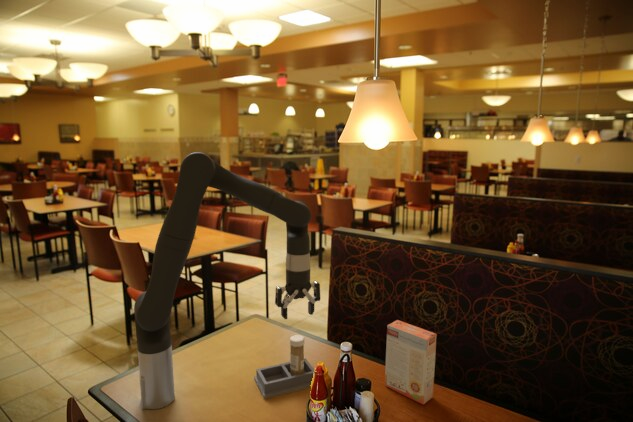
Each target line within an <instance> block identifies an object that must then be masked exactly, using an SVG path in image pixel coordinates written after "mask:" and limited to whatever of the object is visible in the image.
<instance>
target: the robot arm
mask: <svg viewBox="0 0 633 422" xmlns="http://www.w3.org/2000/svg"><path fill="white" fill-rule="evenodd" d="M208 188H211V189H214V190H215V189H216V190H219V191H221V192H223V193H226V194H228V195H230V196H233V198H235V199H238V200H239V201H241V202H243V203H245V204H247V205H249V206H251V207H252V208H256V209H257V210H260V211H262V212H265V213H266V214H269V215H271V216H274V217H276V218H277V219H279V220H281V221H283V223H285V224H286V256H285V285H284V286H279V285H277V286H275V295H274V296H275V298H274V305H276V307H278V308H281V309H280V315H281V317H282V318H283V319H284V320H288V306H289V305H290V304H291V303H292V301H293V300H298V299H305V298H307V300H308V303H307V313H308V314H309V315H310V316H312V315H313V314H314V313H315V304H316V302H320V301H321V284H320V283H319V282H318V280H314V281H313V282H311V254H310V253H311V251H310V250H311V249H310V247H311V246H310V245H311V244H310V243H311V242H310V240H311V239H310V235H309V227H308V226H309V224H310V221H311V219H312V212H311V210H310V208H309V206H307V204H306V203H304V202H303V201H301V200H293V199H291V198H288V197H286V196H284V195H283V194H282V193H280V192H279V191H277V190H275V189H273V188H270V187H269V186H266V185H264V184H263V183H259V182H257V181H254V180H252V179H249V178H246V177H243V176H241V175H239V174H237V173H234V172H232V171H230V170H229V169H226V168H225V167H223V166H221V165H220V164H219V163H217V162H216V161H214V160H213V159H212V158H211V157H210V156H209V155H207V154H206V153H204V152H199V151H198V152H197V151H196V152H192V153H189V154H188V155H185V157H184V158H183V159H182V161H181V163H180V168H179V174H178V179H177V185H176V188H175V193H174V195H173V199H172V201H171V204H170V206H169V208H168V210H167V213H166V215H165V218H164V220H163V222H162V226H161V227H160V230H159V234H158V236H157V239H156V240H157V241H156V244H155V247H154V252H153V258H152V267H151V276H150V280H149V283H148V286H147V288H146V291H143V292H142V293H141V294H140V295H138V297H137V298H136V300H135V302H134V304H133V305H134V306H133V310H134V312H133V313H134V323H135V336H136V345H137V346H136V347H137V348H136V349H137V357H138V358H137V359H138V372H139V387H140V397H141V398H140V400H141V410H158V409H162V408H165V407H167V406H168V405H170V404H171V403H172V402H173V401H174V399H175V395H176V394H175V392H176V391H175V378H174V362H173V361H174V360H173V346H172V344H173V343H172V333H171V326H170V317H171V314H172V309H173V305H174V299H175V296H176V295H175V294H176V291H177V287H178V283H179V280H180V278H181V276H182V273H183V271H184V269H185V264H186V262H187V259H188V256H189V254H190V251H191V248H192V245H193V241H194V239H195V235H196V231H197V227H198V223H199V213H200V208H201V205H202V202H203V199H204V196H205V194H206V191H208ZM311 289H313V296H312V295H311V294H310V292H309V291H310V290H311ZM284 292H286V293H284ZM284 294H285V295H284ZM283 295H284V297H283ZM282 298H283V299H282Z"/></svg>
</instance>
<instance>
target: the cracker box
mask: <svg viewBox="0 0 633 422" xmlns="http://www.w3.org/2000/svg"><path fill="white" fill-rule="evenodd" d="M386 327H387V329H386V347H385V348H386V349H385V372H384V373H385V374H384V386H385V387H387V388H389V389H390V390H393V391H394V392H396V393H398V394H400V395H403V396H405V397H407V398H408V399H410V400H411V401H412V400H413V401H415V402H417V403H418V404H421V405H423V406H424V405H425V404H426V403H428V402H429V401H430V400H431V399H433V397H434V387H435V385H434V384H435V366H436V352H437V351H436V349H437V336H438V335H437V333H435V332H433V331H429V330H427V329H424V328H421V327H418V326H416V325H413V324H409V323H407V322H405V321H402V320H399V319H396V320H394V321H393V322H391V323H389V324H387V325H386Z"/></svg>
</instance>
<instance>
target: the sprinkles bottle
mask: <svg viewBox="0 0 633 422" xmlns="http://www.w3.org/2000/svg"><path fill="white" fill-rule="evenodd" d="M304 345H305V337H304V336H302V335H300V334H294V335H292V336H290V337H289V346H290V353H289V356H290V359H289V362H290V367H291V376H294V375H299V374H303V373H304V359H305V351H304V350H305V349H304Z"/></svg>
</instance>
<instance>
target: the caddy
mask: <svg viewBox="0 0 633 422" xmlns="http://www.w3.org/2000/svg"><path fill="white" fill-rule="evenodd" d="M314 370H315V369H314V367H313V366H312V365H311V363H310V362H309V361H308V359H307V358H305V357H304V373H303V374H299V375H294V376H291V367H290V361H288V362H287V361H286V362H283V363H278V364H275V365H270V366H265V367H261V368H256V372H255V373H256V374H255V376H253V379H254V382H255V384H256V386H257V387H258V390H259V391H260V394H261V395H262V397H263V399H264V400H265V399H268V398H269V399H270V398H274V397H279V396H282V395H284V394H288V393H293V392H297V391H301V390H304V389H309V388H311V387H310V385H311V381H312V378H313V372H314Z"/></svg>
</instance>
